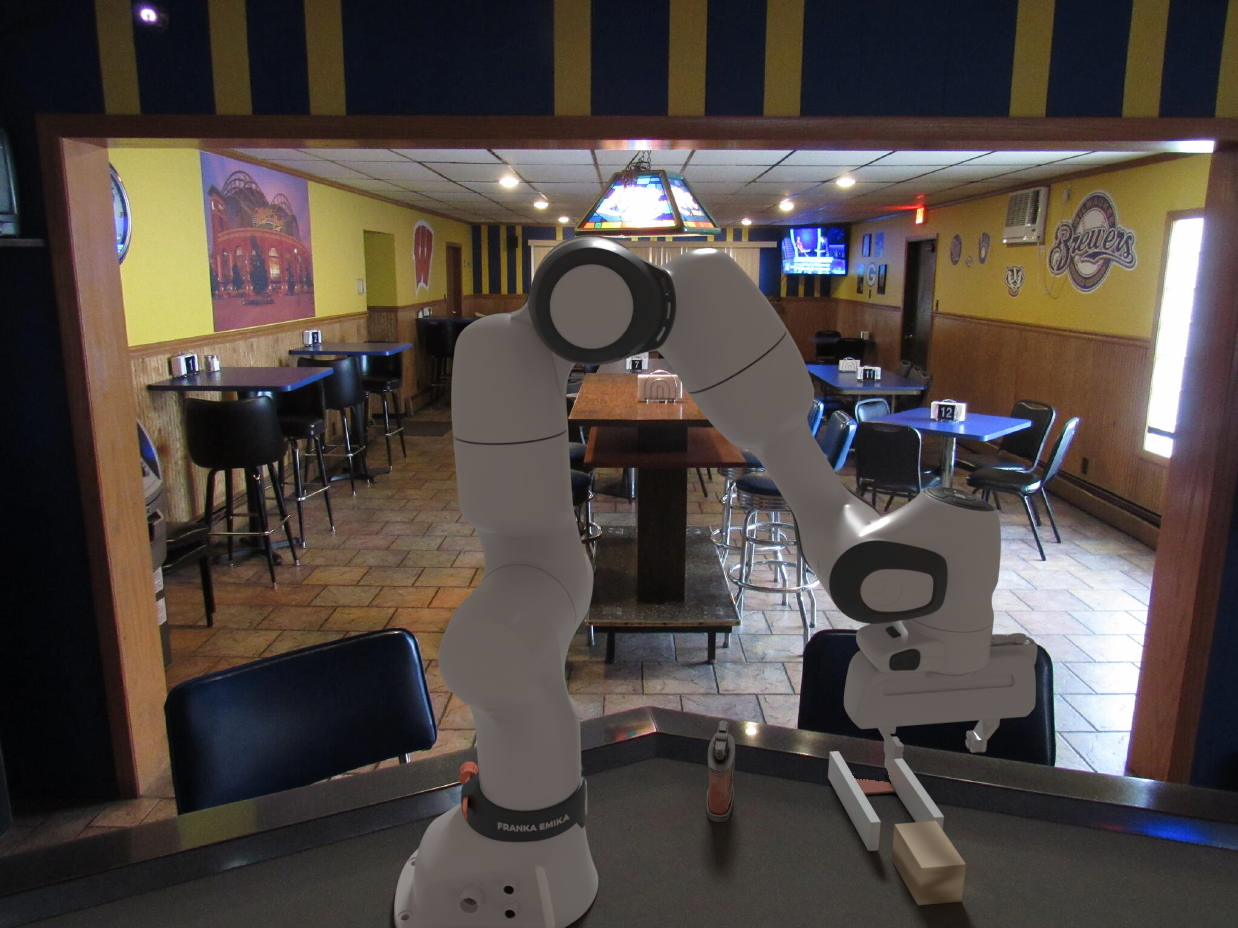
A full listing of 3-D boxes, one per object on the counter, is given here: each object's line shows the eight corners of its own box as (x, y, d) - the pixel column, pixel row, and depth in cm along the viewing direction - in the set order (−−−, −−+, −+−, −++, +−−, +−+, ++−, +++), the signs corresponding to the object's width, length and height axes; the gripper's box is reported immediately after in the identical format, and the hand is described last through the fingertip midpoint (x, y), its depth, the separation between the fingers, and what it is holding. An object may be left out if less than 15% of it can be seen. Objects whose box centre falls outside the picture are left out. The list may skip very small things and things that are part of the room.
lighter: (730, 823, 105) (733, 753, 102) (703, 819, 105) (705, 750, 103) (735, 782, 112) (737, 717, 110) (710, 779, 113) (711, 714, 110)
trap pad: (848, 795, 110) (849, 793, 110) (838, 776, 113) (838, 774, 113) (894, 792, 110) (894, 790, 110) (882, 773, 114) (882, 771, 114)
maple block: (917, 905, 92) (921, 867, 91) (891, 860, 99) (894, 823, 97) (961, 902, 92) (966, 864, 91) (932, 856, 99) (936, 820, 98)
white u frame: (868, 850, 100) (870, 822, 99) (828, 777, 113) (829, 751, 112) (940, 844, 101) (944, 816, 100) (892, 772, 114) (894, 746, 113)
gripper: (1022, 618, 93) (1008, 729, 96) (842, 630, 91) (835, 742, 94) (1056, 646, 87) (1040, 762, 90) (864, 659, 85) (856, 777, 88)
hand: (934, 752), depth 92 cm, fingers open, 8 cm apart
